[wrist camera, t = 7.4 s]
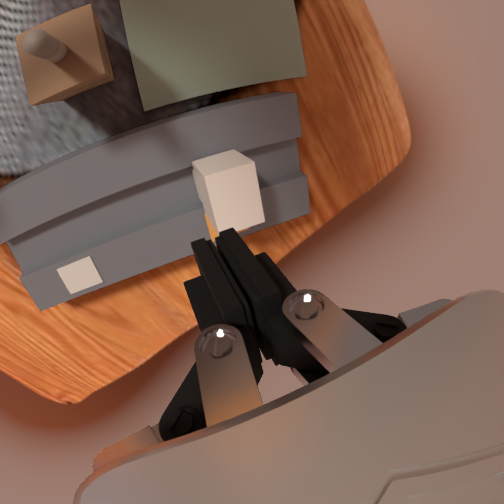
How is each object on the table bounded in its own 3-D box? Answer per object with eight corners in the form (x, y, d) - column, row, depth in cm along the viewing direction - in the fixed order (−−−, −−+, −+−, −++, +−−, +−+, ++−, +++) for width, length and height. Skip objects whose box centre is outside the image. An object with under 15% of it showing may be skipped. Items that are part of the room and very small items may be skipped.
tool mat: (116, -19, 14) (115, -21, 13) (281, -39, 16) (284, -41, 16) (144, 111, 20) (144, 111, 19) (303, 76, 22) (307, 76, 22)
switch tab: (188, 157, 21) (204, 176, 17) (228, 146, 21) (254, 161, 17) (201, 207, 23) (219, 237, 19) (239, 195, 24) (265, 221, 20)
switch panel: (-5, 191, 18) (-20, 204, 15) (278, 91, 23) (297, 93, 20) (46, 290, 23) (40, 311, 21) (293, 200, 28) (311, 213, 26)
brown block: (52, 52, 15) (-17, 23, 5) (103, 32, 16) (78, -24, 6) (63, 100, 17) (-1, 112, 7) (114, 80, 18) (95, 66, 8)
